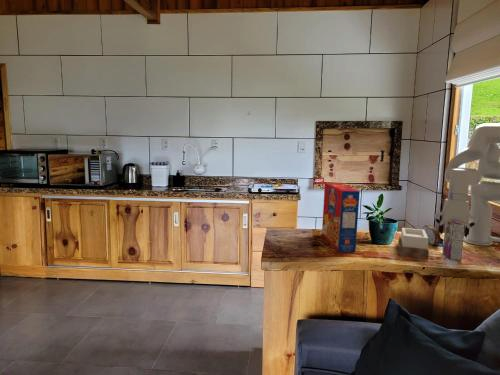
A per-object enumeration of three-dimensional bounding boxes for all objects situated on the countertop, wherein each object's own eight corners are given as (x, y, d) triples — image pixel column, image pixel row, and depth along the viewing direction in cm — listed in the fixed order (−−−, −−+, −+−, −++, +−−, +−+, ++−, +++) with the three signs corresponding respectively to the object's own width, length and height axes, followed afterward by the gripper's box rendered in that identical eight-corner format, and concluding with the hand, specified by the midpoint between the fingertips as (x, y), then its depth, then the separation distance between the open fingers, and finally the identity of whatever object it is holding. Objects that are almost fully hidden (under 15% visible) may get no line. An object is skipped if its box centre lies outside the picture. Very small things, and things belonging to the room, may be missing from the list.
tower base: (424, 249, 180) (425, 239, 179) (427, 260, 163) (428, 250, 163) (397, 245, 184) (398, 236, 183) (398, 256, 167) (399, 246, 167)
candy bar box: (441, 252, 174) (445, 217, 172) (453, 253, 173) (457, 218, 171) (449, 259, 163) (453, 222, 161) (461, 260, 162) (465, 223, 160)
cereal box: (321, 235, 197) (324, 182, 193) (336, 235, 198) (340, 183, 194) (338, 252, 169) (342, 190, 166) (355, 252, 170) (359, 191, 166)
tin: (440, 247, 181) (442, 230, 180) (433, 247, 181) (435, 230, 180) (426, 239, 196) (428, 223, 195) (420, 238, 196) (422, 223, 195)
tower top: (423, 240, 179) (424, 229, 178) (427, 249, 164) (428, 238, 163) (400, 237, 182) (401, 227, 182) (402, 246, 167) (403, 235, 167)
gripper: (478, 197, 164) (473, 236, 167) (434, 194, 171) (430, 231, 173) (482, 200, 158) (477, 239, 160) (436, 196, 164) (432, 234, 166)
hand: (453, 235), depth 166 cm, fingers open, 9 cm apart
